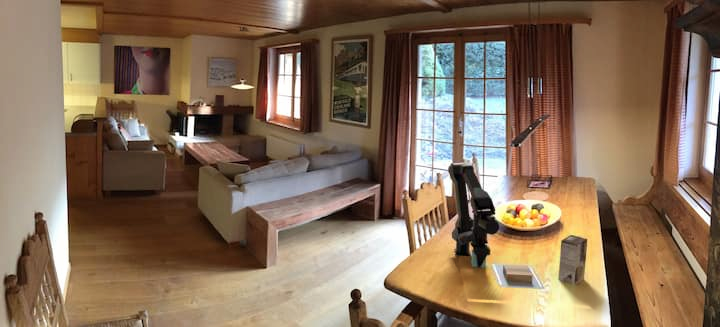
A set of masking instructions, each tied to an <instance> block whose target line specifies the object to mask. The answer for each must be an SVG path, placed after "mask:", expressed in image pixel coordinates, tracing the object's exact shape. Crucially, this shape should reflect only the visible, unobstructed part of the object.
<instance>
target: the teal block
mask: <svg viewBox="0 0 720 327" xmlns="http://www.w3.org/2000/svg"><path fill="white" fill-rule="evenodd" d="M470 259H471V262H470V263H471V266H472V268H479V267H478V265H477V258H476V255H475V254H473V251H472V250H471V258H470ZM486 264H487V257H486V258H485V260H484V262H483V263H482V265H481V267H480V268H486V267H487V266H486Z"/></svg>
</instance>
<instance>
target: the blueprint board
mask: <svg viewBox="0 0 720 327" xmlns="http://www.w3.org/2000/svg"><path fill="white" fill-rule="evenodd" d="M490 265H491V270H492V272H493V274H494V277H495V280H496V282H497V286H498V287H500V288H502V287H504V288H517V289H520V288H521V289H539V290H546V287H545V286H544V284H543V283H542V281H541V278H540V277H539V276H538V274H537V273H536V271H535V269H534V268H533V265H529V264H527V265H526V264H516V265H517V266H528V268H529V270H530V271H531V273H532V275H533V278H532V283H520V282H507V281H506V279H505V276H504V274H503V265H511V264H507V263H490Z"/></svg>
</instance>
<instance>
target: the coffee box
mask: <svg viewBox="0 0 720 327" xmlns="http://www.w3.org/2000/svg"><path fill="white" fill-rule="evenodd" d="M587 247H588V238H586V237H585V238H584V237H581V236H578V235H573V234H569V235H568V236H566V237H565V238H563V239H561V244H560V253H559V254H560V255H559V268H558V276H557V277H558V278H557V279H558V280H559V281H562V282H565V283H569V284H573V285H575V286H577V285H578V284H579V283H582V281H584V280H585V273H586V260H587V249H588V248H587Z"/></svg>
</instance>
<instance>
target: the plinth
mask: <svg viewBox="0 0 720 327" xmlns="http://www.w3.org/2000/svg"><path fill="white" fill-rule="evenodd" d="M517 265H518V264H510V265H503V274H504V276H505V279H506V281H507V282H520V283H532V278H533V275H532V273H531V271H530V270H529V268H528V266H517Z"/></svg>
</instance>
